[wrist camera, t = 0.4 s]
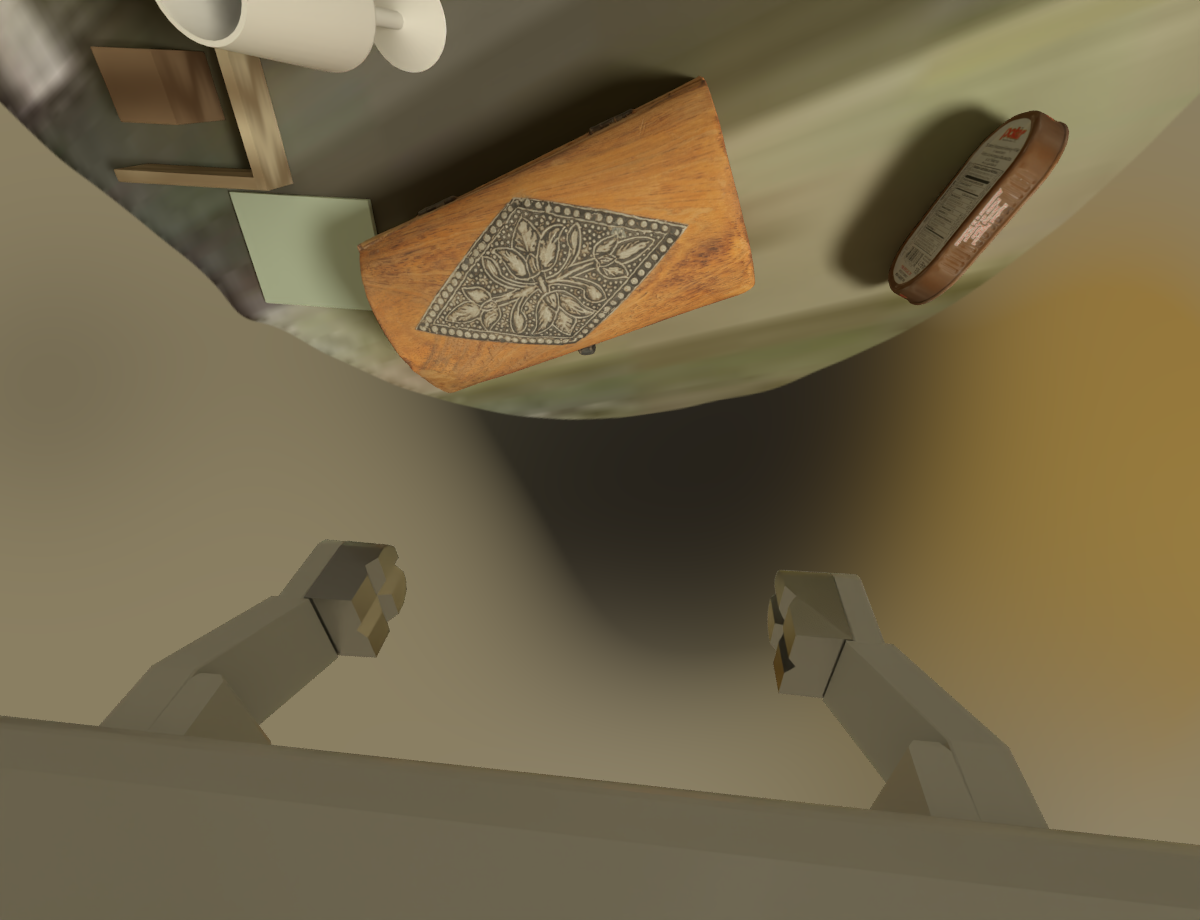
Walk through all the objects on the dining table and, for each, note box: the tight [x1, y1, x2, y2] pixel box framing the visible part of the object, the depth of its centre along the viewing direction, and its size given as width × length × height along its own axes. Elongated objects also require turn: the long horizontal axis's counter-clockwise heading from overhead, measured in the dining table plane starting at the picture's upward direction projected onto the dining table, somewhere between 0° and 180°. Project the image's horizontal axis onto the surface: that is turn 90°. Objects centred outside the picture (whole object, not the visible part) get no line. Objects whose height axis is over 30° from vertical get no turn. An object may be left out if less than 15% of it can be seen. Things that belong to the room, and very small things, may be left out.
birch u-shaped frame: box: [114, 48, 293, 191], centre depth 47 cm, size 15×14×4 cm
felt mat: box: [229, 191, 377, 311], centre depth 56 cm, size 11×14×1 cm
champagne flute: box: [155, 0, 446, 73], centre depth 34 cm, size 7×7×24 cm
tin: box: [888, 111, 1069, 305], centre depth 44 cm, size 15×3×8 cm, turn 156°
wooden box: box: [357, 76, 755, 393], centre depth 47 cm, size 30×16×14 cm, turn 112°
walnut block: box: [91, 47, 225, 125], centre depth 46 cm, size 5×5×6 cm
